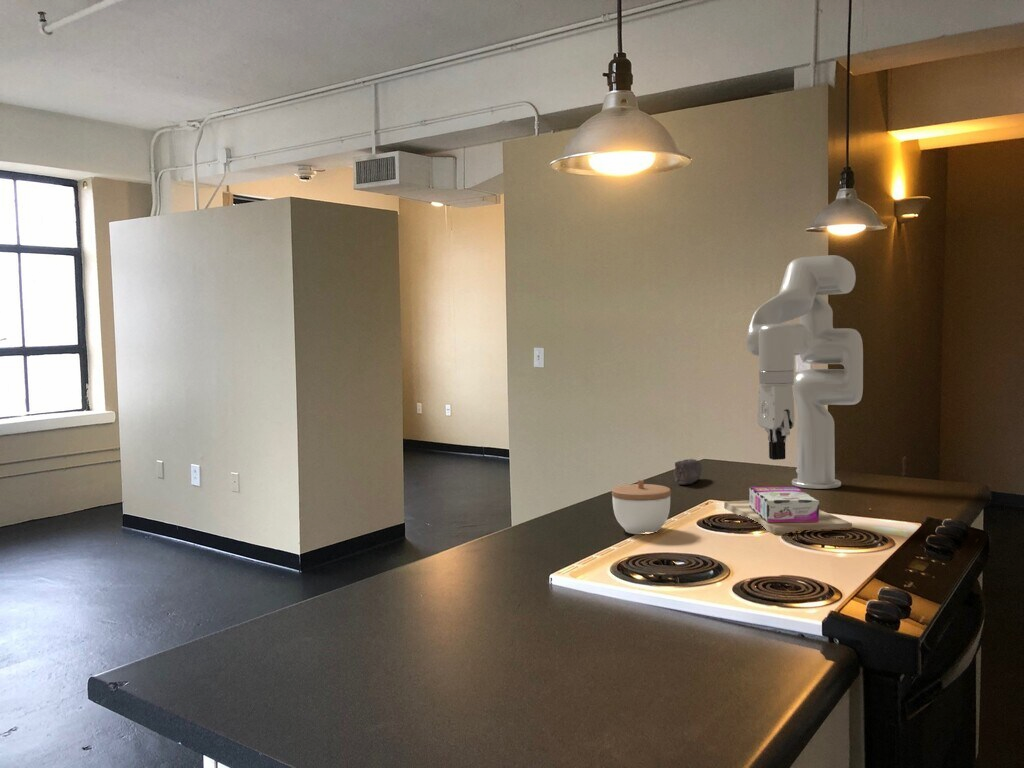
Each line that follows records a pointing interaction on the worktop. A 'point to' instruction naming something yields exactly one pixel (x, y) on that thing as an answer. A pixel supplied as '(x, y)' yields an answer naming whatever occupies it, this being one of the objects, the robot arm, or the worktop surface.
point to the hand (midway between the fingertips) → (777, 458)
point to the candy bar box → (784, 504)
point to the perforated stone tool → (687, 471)
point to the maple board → (785, 527)
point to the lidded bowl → (641, 506)
